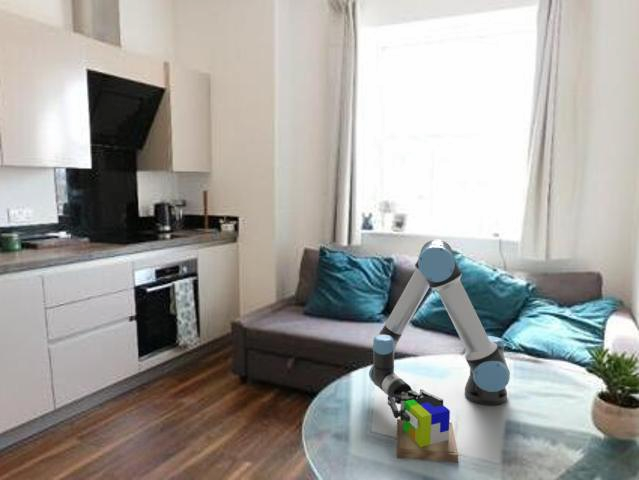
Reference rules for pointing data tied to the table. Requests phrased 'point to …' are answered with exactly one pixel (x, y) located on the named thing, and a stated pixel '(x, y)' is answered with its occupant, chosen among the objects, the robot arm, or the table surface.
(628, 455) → the table surface
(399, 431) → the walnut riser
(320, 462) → the table surface
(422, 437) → the puzzle toy
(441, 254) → the robot arm
